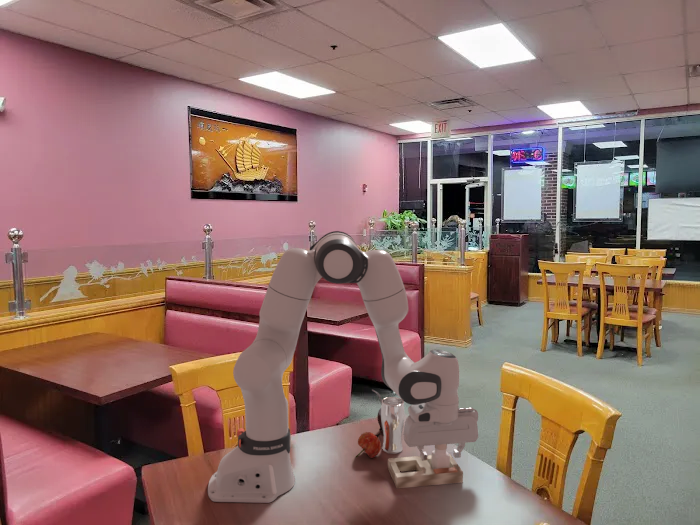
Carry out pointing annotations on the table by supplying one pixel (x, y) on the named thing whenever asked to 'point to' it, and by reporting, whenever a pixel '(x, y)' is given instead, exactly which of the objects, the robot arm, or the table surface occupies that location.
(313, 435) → the table surface
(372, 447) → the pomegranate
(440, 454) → the pepper shaker
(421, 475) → the slot rack
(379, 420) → the mate gourd
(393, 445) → the beer glass
